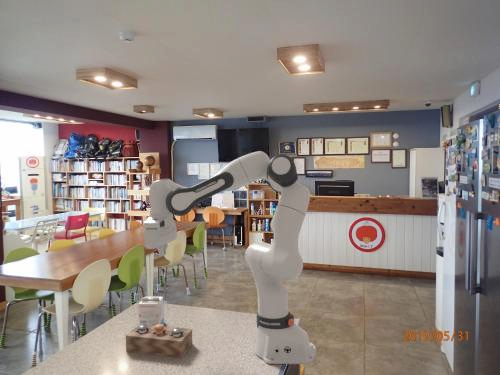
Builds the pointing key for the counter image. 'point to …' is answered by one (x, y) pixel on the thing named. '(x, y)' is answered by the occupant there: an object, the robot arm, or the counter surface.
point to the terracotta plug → (159, 329)
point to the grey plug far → (142, 328)
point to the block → (159, 342)
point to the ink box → (151, 311)
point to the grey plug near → (176, 332)
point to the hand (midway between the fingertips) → (162, 255)
